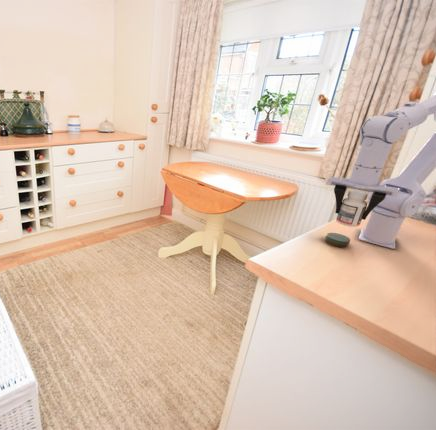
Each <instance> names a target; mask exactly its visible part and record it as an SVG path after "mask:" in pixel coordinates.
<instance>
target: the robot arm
mask: <svg viewBox="0 0 436 430" xmlns="http://www.w3.org/2000/svg"><path fill="white" fill-rule="evenodd" d="M431 115H433V120H434V122H436V92H435V93H434V94H433V95H432V96H430V97H428V98H426V99H424V100H422V101H421V102H416V101H407V102H404V103H403V105H402V106H401V107H399V108H396V109H393V110H390V111H388V112H387V113H386V114H383V115H374V116H371V117H369V118H367V119H366V120H365V122H364V123H363V125H362V126H361V127H360V128H359V136H360V139H359V142H358V144H359V146H360V147H359V150H358V153H357V156H356V159H355V161H354V164H353V166H352V170H351V173H350V176H349V178H345V177H335V176H329V177H327V180H326V182H325V183H326V184H325V185H328V186H334V188H333V192H334V197H335V210H334V211H335V212H334V213H335V214H338V213H339V210H340V207H341V204H342V201H343V200H344V197H345V195H346V193H347V189H352V190H356V191H362V192H369V195H368V196H367V202H368V203H367V207H366V210H365V213H364V215H363V217H362V220H364V221H365V220H367V221H366V223H365V226H364V228H362V229H361V230H360V233H359V237H358V240H359V241H362V242H366V243H369V244H372V245H373V244H374V245H377V246H381V247H384V248H387V249H393V250H395V249H396V239H397V236H398V234H399V232H400V229H401V228H402V225H403V223H404V221H405V219H406V218H409V217H411V216H413V215H415V214H416V213H417V212H418V211H419V210H420V209H421V207H422V204H423V202H424V201H425V200H426V198H427V192H426V190H425V189H424V188H423V186H422V185H423V183H424V182H425V181H426V180H427V179H428V177H429V176H430V175H431V174H432V173H433V172H434V171H435V170H436V131H435V132H434V133H433V134H432V136H430V138H429V139H428V140H427V142H426V143H425V144H424V145H423V146H422V147H421V149H420V150H419V151H418V152H417V154H416V155H415V156H414V157H413V158H412V160H410V162H409V163H408V164H407V166H406V167H405V168H404V169H403V170H402V171H401V172H400V174H399V175H398V176H396V177H395V176H394V177H390V178H387V179H384V180H382V181H381V183H378V182H379V180H380V177H381V175H382V172H383V169H384V167H385V164H386V162H387V159H388V157H389V154H390V153H391V149H392V147H393V144H394V143H396V142H398V141H399V140H400V139H401V138H402V137H403V136H404V134H406V133H408V131H409V130H411V129H413V128H415V127H418V126H420V125H421V124H423V123H424V122H426V121H427V119H428V117H429V116H431ZM367 217H368V219H367Z"/></svg>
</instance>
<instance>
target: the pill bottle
mask: <svg viewBox="0 0 436 430" xmlns="http://www.w3.org/2000/svg"><path fill="white" fill-rule="evenodd" d="M368 197H369V195H368V193H367V192H365V191H362V190H355V189H352V190H349V191H348V193H347V197H345V198H343V200H342V204H341V207H340V210H339V213H337V215H336V218H335V222H336V223H338V224H340V225H342V226H346V227H351V228H356V227H359V226H360V225H361V223H362V221H363V219H362V217H363V215H364V213H365V210H366V208H367V207H368V203H367V201H366V200H367V199H368Z"/></svg>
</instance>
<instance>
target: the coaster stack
mask: <svg viewBox="0 0 436 430" xmlns="http://www.w3.org/2000/svg"><path fill="white" fill-rule="evenodd" d="M324 242H325V243H326V244H328V245H330V246H332V247H335V248H340V249H348V247H349V246H350V243H351V238H350V237H348V236H347V235H345V234H341V233H337V232H328V233H326V235H325V237H324Z"/></svg>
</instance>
